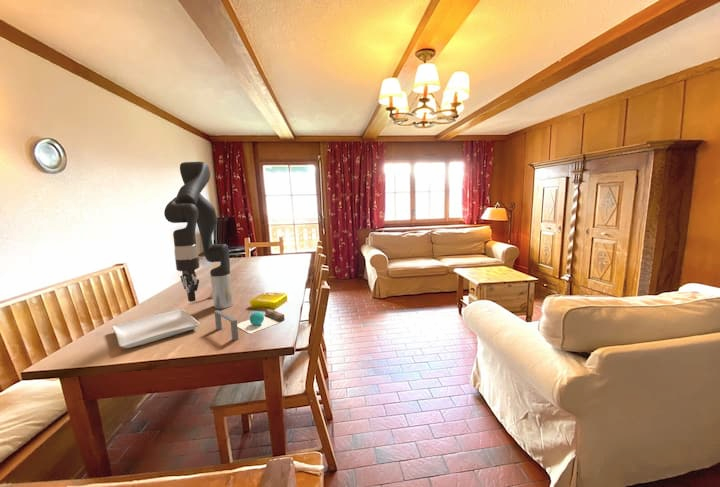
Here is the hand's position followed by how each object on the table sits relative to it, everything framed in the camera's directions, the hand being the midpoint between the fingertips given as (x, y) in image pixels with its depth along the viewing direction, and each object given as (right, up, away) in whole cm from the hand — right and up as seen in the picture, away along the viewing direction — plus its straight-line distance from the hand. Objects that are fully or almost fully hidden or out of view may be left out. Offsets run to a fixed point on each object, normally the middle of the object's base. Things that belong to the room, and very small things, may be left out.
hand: (192, 301), depth 112 cm
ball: (+19, -11, +17) cm, 28 cm away
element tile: (+16, -11, +44) cm, 48 cm away
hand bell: (-20, -9, +59) cm, 63 cm away
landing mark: (+18, -14, +18) cm, 30 cm away
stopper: (+24, -13, +26) cm, 38 cm away
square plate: (-23, -16, +14) cm, 31 cm away
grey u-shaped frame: (+9, -16, +9) cm, 20 cm away
